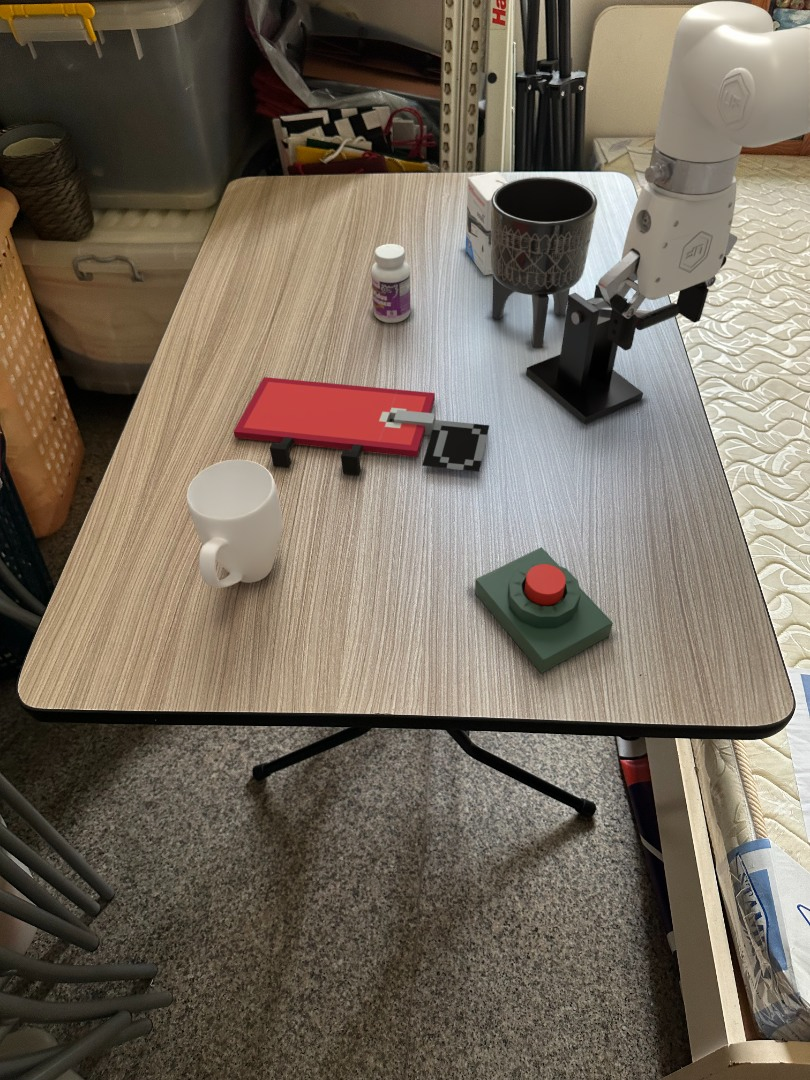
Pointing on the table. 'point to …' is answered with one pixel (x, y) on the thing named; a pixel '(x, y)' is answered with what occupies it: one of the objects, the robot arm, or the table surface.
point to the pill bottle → (391, 284)
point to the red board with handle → (357, 424)
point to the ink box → (481, 218)
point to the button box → (542, 613)
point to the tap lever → (638, 313)
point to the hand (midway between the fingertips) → (653, 329)
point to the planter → (539, 243)
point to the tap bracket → (585, 366)
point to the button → (545, 584)
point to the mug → (235, 521)
